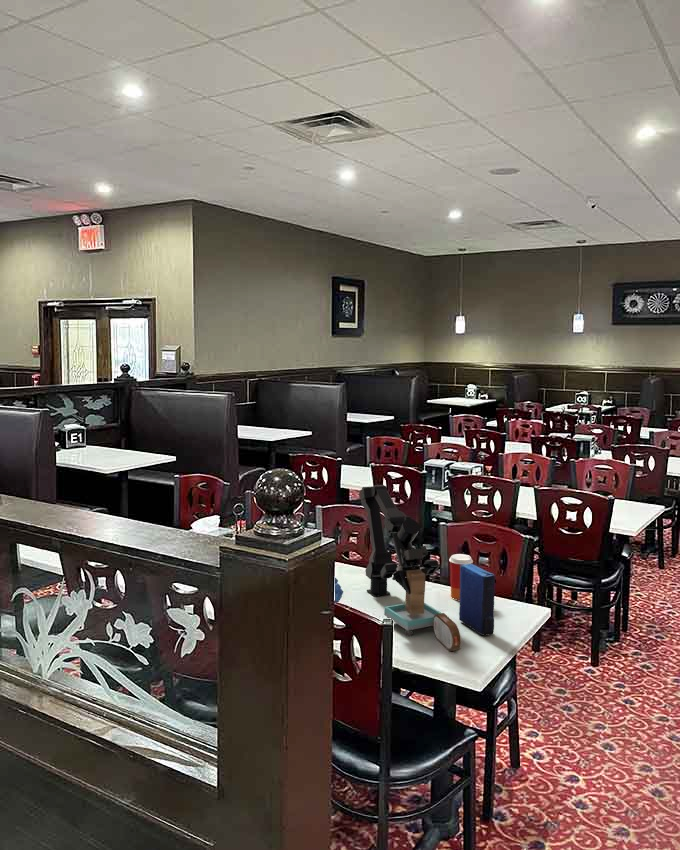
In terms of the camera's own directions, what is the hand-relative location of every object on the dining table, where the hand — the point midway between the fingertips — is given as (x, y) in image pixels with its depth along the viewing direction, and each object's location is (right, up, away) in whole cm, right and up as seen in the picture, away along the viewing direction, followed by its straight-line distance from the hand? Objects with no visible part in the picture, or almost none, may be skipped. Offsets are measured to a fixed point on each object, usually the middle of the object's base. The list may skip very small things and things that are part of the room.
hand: (416, 593), depth 239 cm
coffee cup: (+18, -8, +29) cm, 35 cm away
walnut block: (-1, -6, +2) cm, 7 cm away
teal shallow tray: (-1, -11, +3) cm, 12 cm away
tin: (+8, -13, -11) cm, 19 cm away
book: (+19, -12, +2) cm, 23 cm away
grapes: (-26, -9, +15) cm, 32 cm away
